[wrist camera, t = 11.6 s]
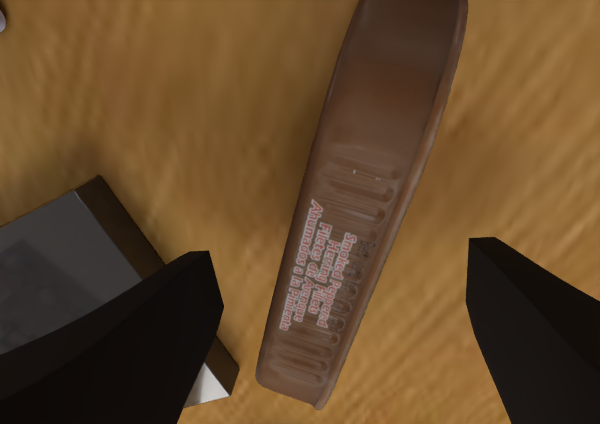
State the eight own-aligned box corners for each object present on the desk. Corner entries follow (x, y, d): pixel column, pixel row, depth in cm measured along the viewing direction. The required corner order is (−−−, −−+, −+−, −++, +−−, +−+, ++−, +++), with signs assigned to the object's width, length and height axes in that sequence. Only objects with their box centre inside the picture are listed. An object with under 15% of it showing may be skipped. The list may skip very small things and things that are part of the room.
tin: (333, 309, 21) (320, 468, 14) (277, 293, 21) (233, 443, 14) (443, 2, 14) (540, -19, 7) (360, -21, 14) (363, -65, 7)
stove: (-135, 272, 25) (-177, 293, 23) (82, 150, 19) (51, 164, 17) (30, 426, 30) (7, 454, 28) (240, 369, 24) (230, 399, 22)
